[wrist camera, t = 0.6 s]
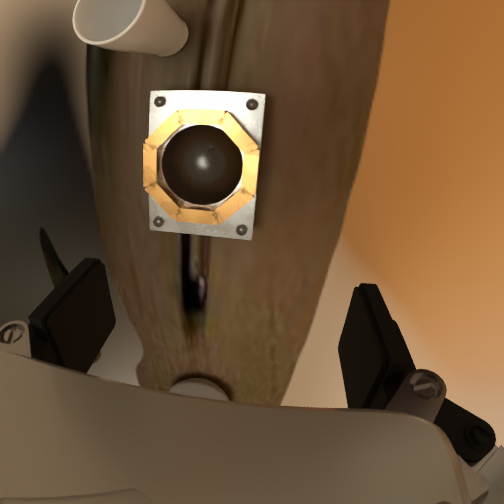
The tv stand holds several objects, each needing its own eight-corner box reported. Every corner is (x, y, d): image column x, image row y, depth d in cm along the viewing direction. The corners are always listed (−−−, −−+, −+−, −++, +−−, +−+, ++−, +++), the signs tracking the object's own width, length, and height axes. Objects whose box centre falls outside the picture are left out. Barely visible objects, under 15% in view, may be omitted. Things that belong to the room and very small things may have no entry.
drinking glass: (141, 17, 28) (74, -16, 15) (196, 8, 28) (149, -39, 14) (141, 66, 31) (69, 54, 18) (196, 59, 31) (145, 35, 17)
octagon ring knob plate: (163, 91, 33) (145, 90, 28) (266, 95, 32) (264, 93, 27) (161, 217, 40) (145, 234, 35) (254, 226, 39) (250, 245, 35)
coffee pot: (169, 365, 52) (145, 434, 39) (234, 376, 52) (223, 450, 38) (175, 426, 61) (160, 482, 48) (227, 435, 61) (218, 493, 48)
